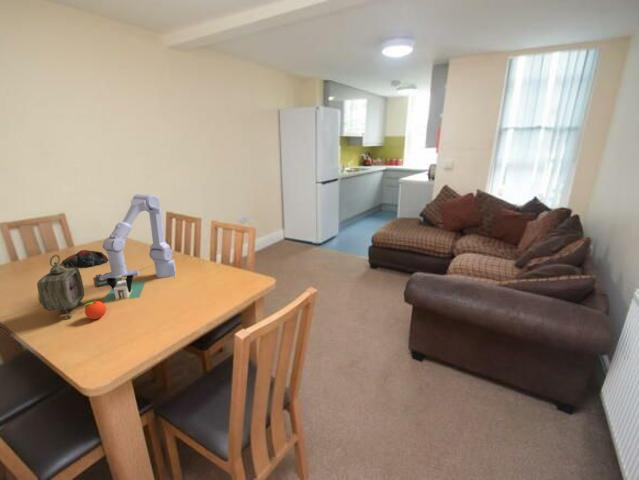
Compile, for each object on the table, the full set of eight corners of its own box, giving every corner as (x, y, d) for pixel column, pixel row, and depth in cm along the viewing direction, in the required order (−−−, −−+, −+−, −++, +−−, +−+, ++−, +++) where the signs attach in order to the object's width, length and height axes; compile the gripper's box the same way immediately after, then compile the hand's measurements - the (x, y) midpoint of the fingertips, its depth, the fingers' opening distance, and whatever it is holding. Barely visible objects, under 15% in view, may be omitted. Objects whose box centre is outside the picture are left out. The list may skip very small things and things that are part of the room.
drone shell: (112, 262, 183) (109, 249, 181) (72, 272, 168) (69, 259, 166) (97, 255, 195) (94, 242, 193) (59, 264, 180) (55, 251, 177)
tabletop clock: (72, 319, 123) (57, 260, 115) (45, 323, 120) (27, 263, 113) (87, 302, 136) (74, 248, 129) (63, 305, 134) (48, 250, 126)
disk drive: (96, 280, 160) (98, 290, 149) (94, 275, 159) (97, 284, 148) (119, 275, 166) (123, 284, 155) (118, 270, 165) (122, 279, 154)
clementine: (81, 324, 120) (77, 308, 118) (85, 315, 126) (82, 300, 124) (105, 320, 123) (102, 304, 121) (109, 311, 129) (105, 296, 127)
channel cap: (131, 289, 146) (129, 279, 144) (127, 297, 138) (125, 287, 137) (120, 290, 144) (118, 281, 143) (115, 299, 137) (113, 288, 135)
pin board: (146, 282, 156) (144, 274, 155) (139, 299, 139) (138, 291, 138) (113, 286, 152) (112, 279, 150) (103, 304, 135) (101, 296, 133)
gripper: (95, 269, 131) (102, 298, 135) (134, 265, 136) (140, 293, 140) (100, 263, 137) (106, 291, 141) (137, 259, 142) (142, 286, 146)
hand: (123, 292), depth 141 cm, fingers closed on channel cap, 5 cm apart
